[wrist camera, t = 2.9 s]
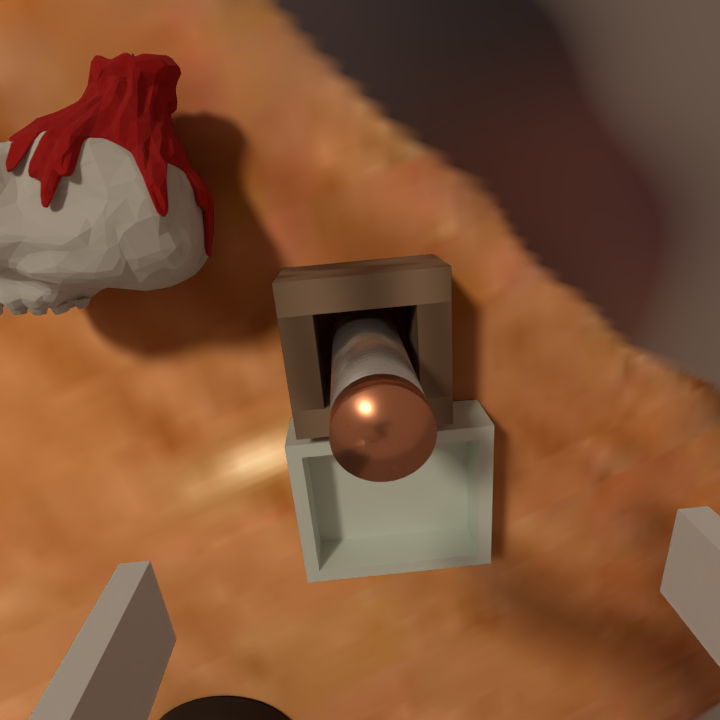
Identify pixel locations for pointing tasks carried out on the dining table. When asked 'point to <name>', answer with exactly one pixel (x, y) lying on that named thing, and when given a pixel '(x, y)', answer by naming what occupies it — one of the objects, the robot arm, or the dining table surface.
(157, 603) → the robot arm
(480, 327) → the dining table surface
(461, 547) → the tray
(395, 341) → the pin
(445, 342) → the block
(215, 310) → the dining table surface
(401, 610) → the dining table surface
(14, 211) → the candle
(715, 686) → the dining table surface
